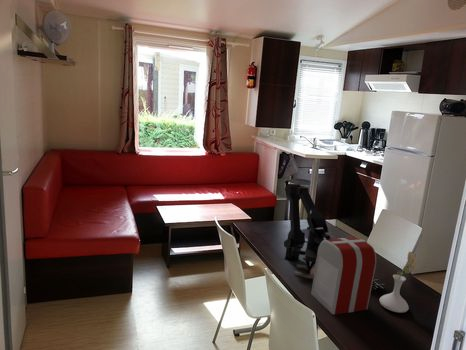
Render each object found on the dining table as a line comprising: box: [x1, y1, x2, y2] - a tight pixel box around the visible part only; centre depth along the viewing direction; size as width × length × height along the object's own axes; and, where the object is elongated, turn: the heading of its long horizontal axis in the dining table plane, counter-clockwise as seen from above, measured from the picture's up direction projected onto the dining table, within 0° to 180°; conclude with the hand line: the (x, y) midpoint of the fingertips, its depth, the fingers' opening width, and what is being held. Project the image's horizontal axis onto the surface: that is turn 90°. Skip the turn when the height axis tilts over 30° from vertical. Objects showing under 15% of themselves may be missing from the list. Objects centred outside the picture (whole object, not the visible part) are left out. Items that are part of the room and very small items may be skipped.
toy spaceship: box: [300, 228, 337, 244], centre depth 225 cm, size 28×24×3 cm
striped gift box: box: [310, 237, 377, 315], centre depth 153 cm, size 17×18×27 cm
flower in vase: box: [379, 250, 419, 314], centre depth 152 cm, size 13×11×25 cm
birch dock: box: [293, 263, 315, 280], centre depth 175 cm, size 23×12×5 cm, turn 72°
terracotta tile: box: [309, 268, 315, 276], centre depth 175 cm, size 12×6×2 cm, turn 72°
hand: (309, 271), depth 177 cm, fingers closed
